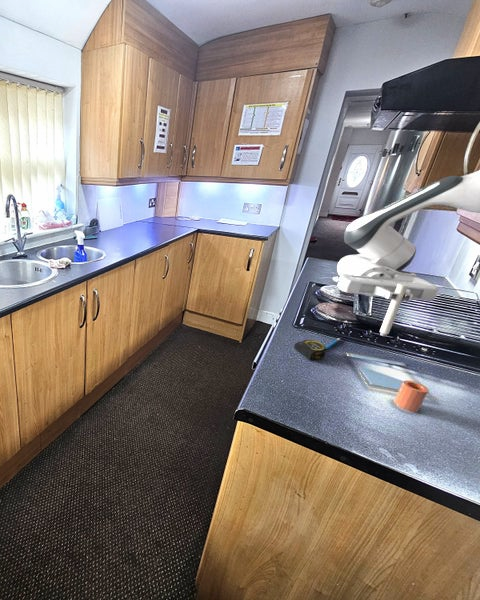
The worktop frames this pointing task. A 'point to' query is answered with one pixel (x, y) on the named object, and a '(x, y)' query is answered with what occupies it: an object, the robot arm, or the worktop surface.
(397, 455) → the worktop surface
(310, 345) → the tape measure
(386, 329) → the stylus
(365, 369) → the tablet
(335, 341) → the pencil
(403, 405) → the pen pot
